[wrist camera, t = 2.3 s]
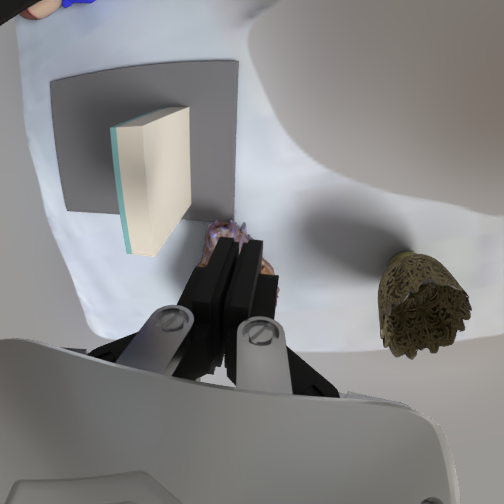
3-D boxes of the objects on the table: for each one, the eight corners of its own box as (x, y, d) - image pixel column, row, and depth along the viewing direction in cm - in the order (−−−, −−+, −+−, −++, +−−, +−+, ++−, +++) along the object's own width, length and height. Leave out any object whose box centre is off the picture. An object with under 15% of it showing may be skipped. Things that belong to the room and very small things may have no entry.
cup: (441, 223, 24) (480, 277, 17) (436, 289, 28) (463, 348, 21) (362, 236, 26) (381, 297, 19) (366, 301, 29) (379, 366, 23)
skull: (189, 209, 25) (176, 257, 21) (285, 211, 26) (294, 259, 21) (199, 310, 33) (193, 359, 28) (272, 311, 33) (276, 360, 28)
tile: (164, 107, 22) (109, 127, 15) (189, 106, 21) (142, 126, 15) (168, 202, 26) (126, 253, 19) (191, 203, 26) (154, 256, 19)
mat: (52, 81, 21) (50, 82, 21) (238, 61, 20) (237, 61, 19) (69, 209, 28) (67, 210, 28) (234, 221, 27) (233, 223, 26)
